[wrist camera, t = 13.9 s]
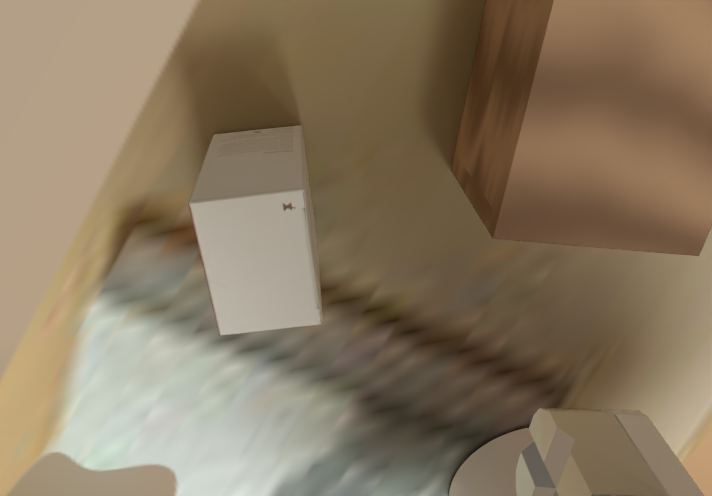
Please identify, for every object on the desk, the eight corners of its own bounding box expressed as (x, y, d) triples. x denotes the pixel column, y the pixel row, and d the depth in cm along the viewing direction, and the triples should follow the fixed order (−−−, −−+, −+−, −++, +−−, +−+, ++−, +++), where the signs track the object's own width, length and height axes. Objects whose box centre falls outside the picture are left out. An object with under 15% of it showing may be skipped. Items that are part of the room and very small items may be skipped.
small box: (212, 131, 38) (184, 198, 29) (303, 122, 38) (305, 185, 29) (235, 247, 42) (216, 339, 33) (318, 238, 42) (323, 327, 33)
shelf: (614, 186, 42) (698, 256, 33) (450, 170, 41) (493, 238, 32) (693, -45, 36) (822, -35, 27) (502, -74, 34) (572, -74, 25)
